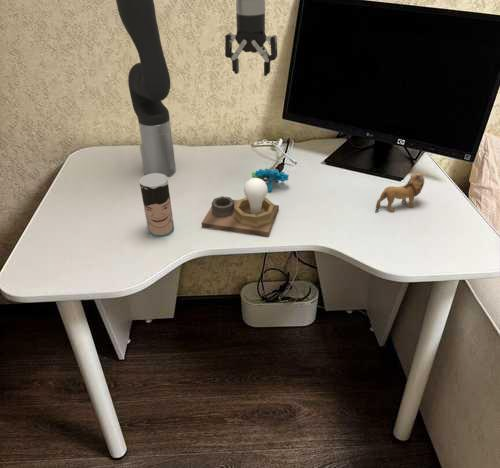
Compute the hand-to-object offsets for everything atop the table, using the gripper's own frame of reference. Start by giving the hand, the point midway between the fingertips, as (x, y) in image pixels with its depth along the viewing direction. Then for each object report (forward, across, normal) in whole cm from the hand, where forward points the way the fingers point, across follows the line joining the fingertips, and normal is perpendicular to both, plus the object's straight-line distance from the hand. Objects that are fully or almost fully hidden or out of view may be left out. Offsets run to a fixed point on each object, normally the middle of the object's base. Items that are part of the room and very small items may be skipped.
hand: (251, 74), depth 130 cm
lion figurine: (+30, +45, -12) cm, 55 cm away
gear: (+30, +8, -9) cm, 33 cm away
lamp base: (+30, +4, -28) cm, 41 cm away
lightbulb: (+29, +8, -28) cm, 41 cm away
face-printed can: (+30, -15, -38) cm, 51 cm away
